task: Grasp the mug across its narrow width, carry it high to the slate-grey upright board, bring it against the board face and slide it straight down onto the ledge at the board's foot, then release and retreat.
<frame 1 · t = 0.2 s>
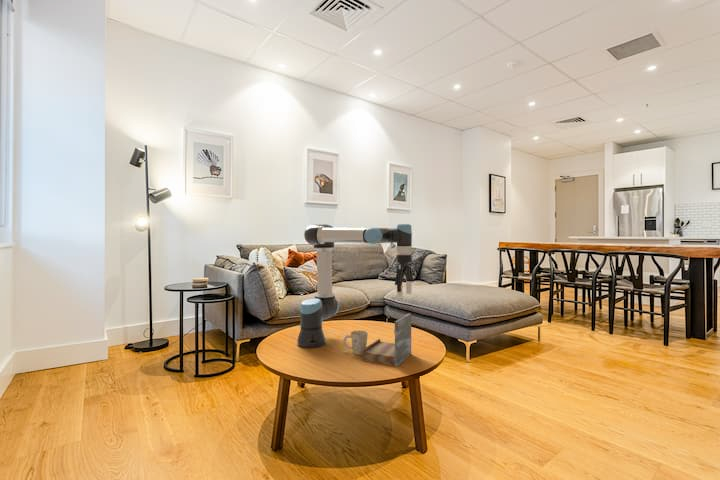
hand: (404, 296, 181), 27 cm above the table, fingers open, 13 cm apart
cleat board: (393, 357, 170), on the table
mug: (355, 352, 178), on the table
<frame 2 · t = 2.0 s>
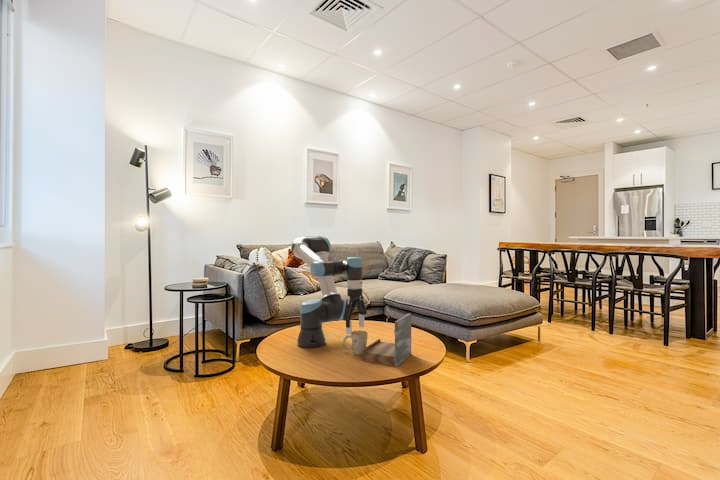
hand: (355, 330, 177), 11 cm above the table, fingers open, 13 cm apart
nothing on the table moved.
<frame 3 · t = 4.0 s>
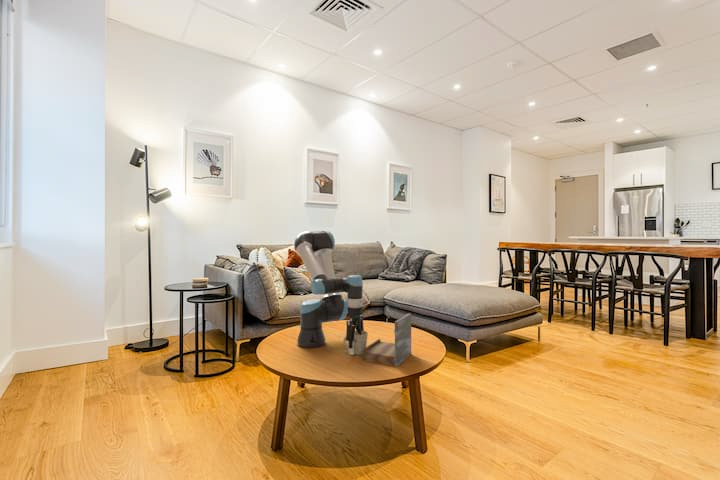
hand: (355, 351, 178), 0 cm above the table, fingers open, 7 cm apart
mug: (355, 352, 178), on the table, touching gripper
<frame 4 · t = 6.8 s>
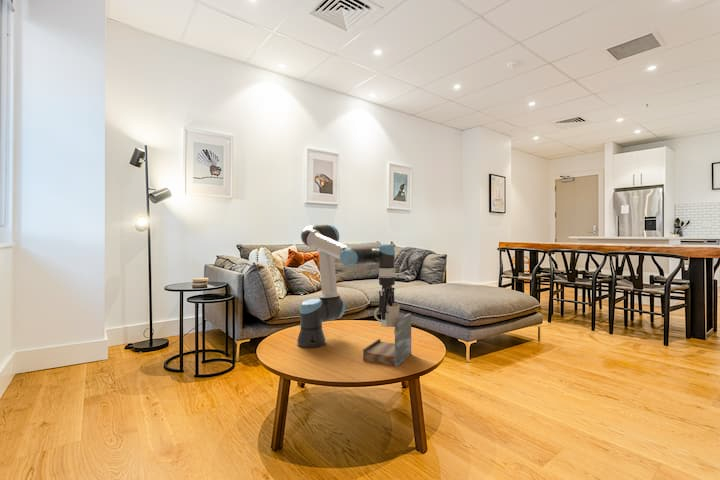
hand: (387, 324, 171), 16 cm above the table, fingers closed on mug, 6 cm apart
mug: (386, 325, 170), point 15 cm above the table, touching gripper
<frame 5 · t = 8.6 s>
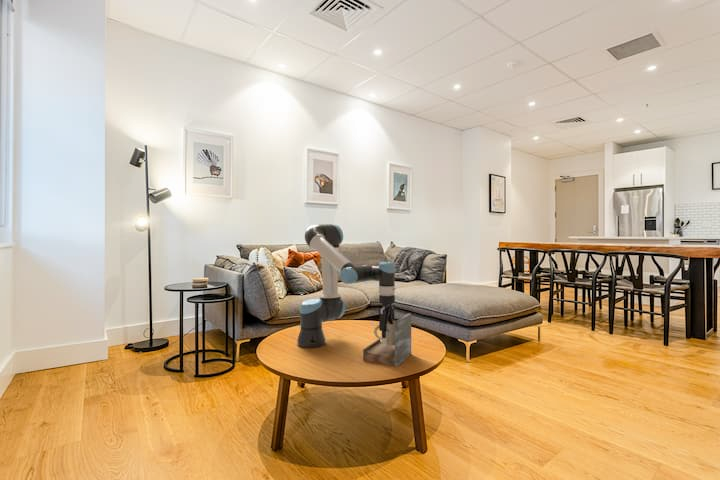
hand: (387, 342, 171), 7 cm above the table, fingers closed on mug, 6 cm apart
mug: (386, 343, 170), point 7 cm above the table, touching gripper
when the fingers open (5 cm above the table, at t = 9.6 s): mug stays where it is, resting on cleat board.
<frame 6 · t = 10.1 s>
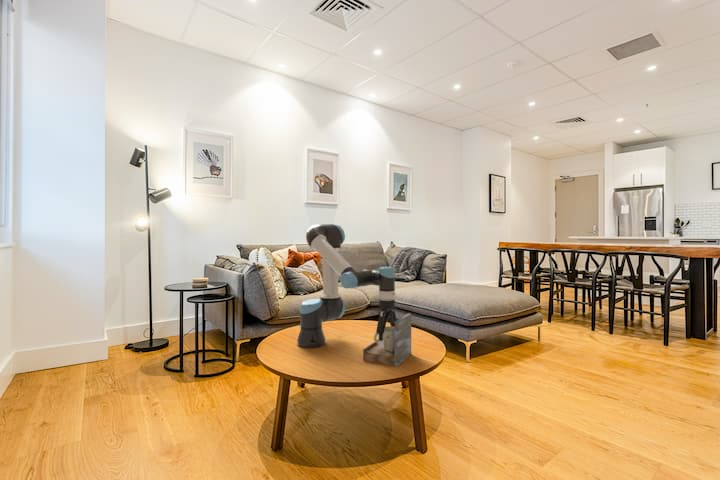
hand: (387, 343, 171), 7 cm above the table, fingers open, 13 cm apart
mug: (386, 349, 170), point 4 cm above the table, touching cleat board
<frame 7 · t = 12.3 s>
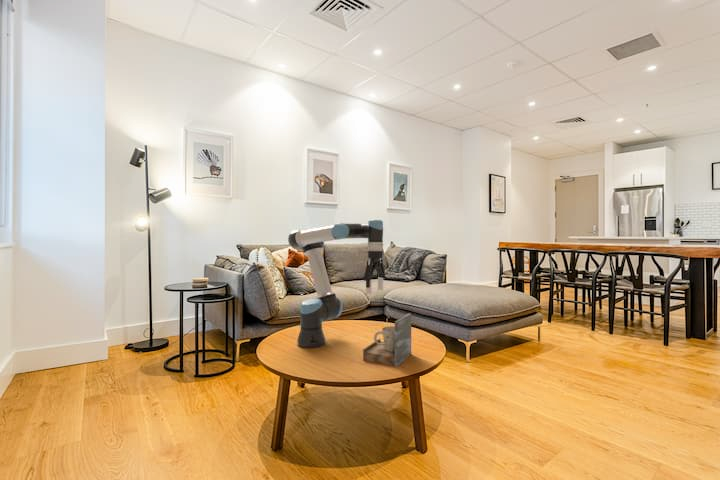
hand: (374, 291, 181), 30 cm above the table, fingers open, 13 cm apart
nothing on the table moved.
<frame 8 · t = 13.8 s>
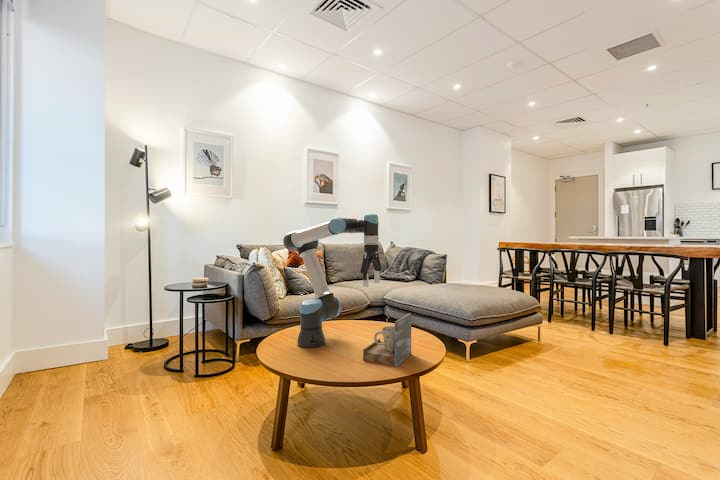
hand: (371, 284, 185), 33 cm above the table, fingers open, 13 cm apart
nothing on the table moved.
at the end: mug inside the target area on the cleat board (0.3 cm from its centre), point 3.8 cm above the cleat board's base; mug tilted 0°; the gripper is holding nothing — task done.
